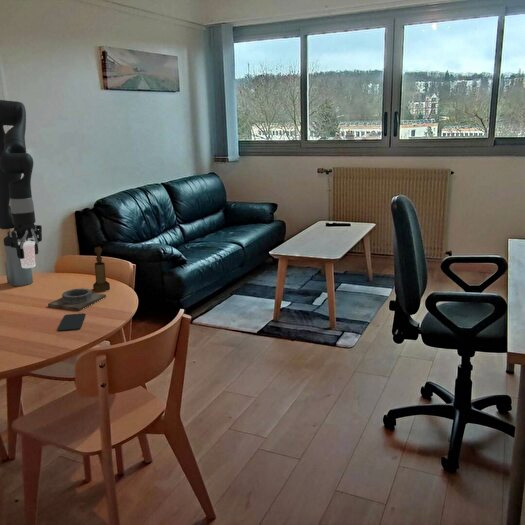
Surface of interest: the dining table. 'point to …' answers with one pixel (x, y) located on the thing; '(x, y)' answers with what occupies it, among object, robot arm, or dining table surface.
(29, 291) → the dining table surface
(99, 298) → the ring holder
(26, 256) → the beverage cup
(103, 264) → the pepper mill
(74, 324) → the phone
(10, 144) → the robot arm
